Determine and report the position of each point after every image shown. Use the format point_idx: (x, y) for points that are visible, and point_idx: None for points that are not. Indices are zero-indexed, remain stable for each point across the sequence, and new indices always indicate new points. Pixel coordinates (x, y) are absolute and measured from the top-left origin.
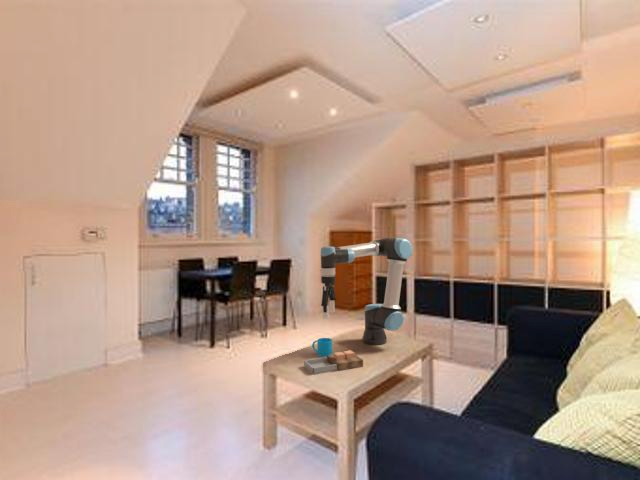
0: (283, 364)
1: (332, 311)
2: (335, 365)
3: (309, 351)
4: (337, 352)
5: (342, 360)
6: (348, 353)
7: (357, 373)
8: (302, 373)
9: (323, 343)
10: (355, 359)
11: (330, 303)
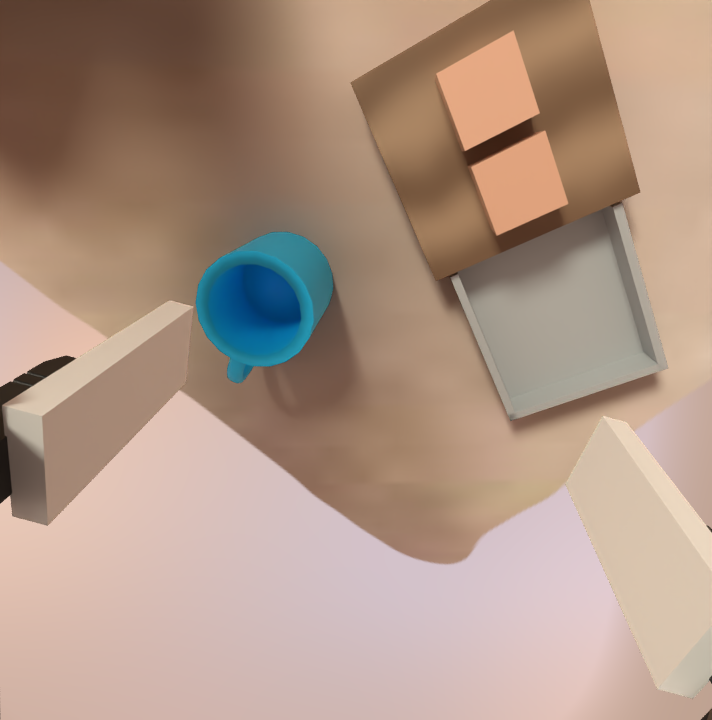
0: (460, 501)
1: (183, 343)
2: (623, 214)
3: None
4: (489, 201)
5: (565, 157)
6: (527, 96)
7: (705, 32)
8: (617, 409)
9: (315, 318)
10: (560, 32)
11: (93, 455)
